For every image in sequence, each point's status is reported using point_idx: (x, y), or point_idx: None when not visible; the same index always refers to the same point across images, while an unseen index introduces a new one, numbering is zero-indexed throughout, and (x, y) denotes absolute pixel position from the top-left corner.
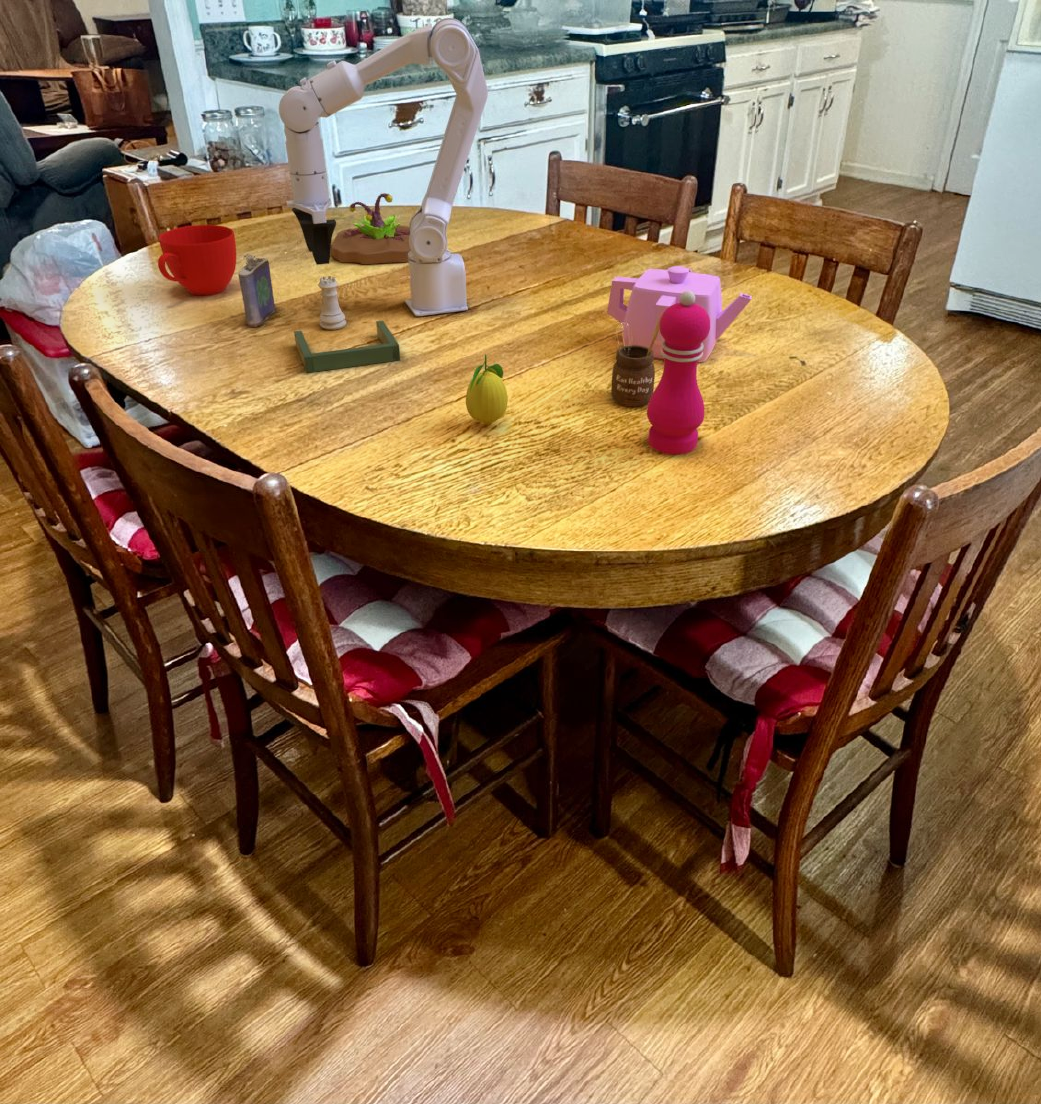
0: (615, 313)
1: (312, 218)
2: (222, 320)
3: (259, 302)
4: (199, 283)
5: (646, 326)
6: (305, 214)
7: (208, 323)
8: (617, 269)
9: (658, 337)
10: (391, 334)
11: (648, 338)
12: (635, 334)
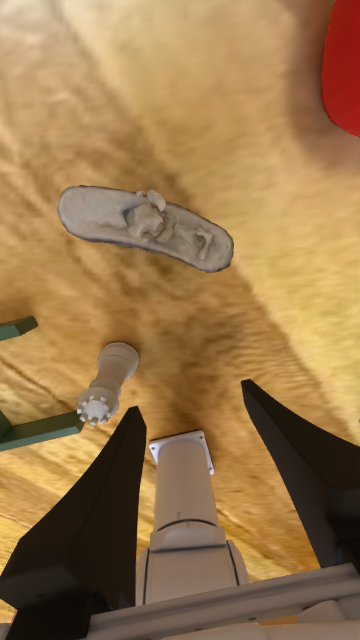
0: None
1: (37, 636)
2: (152, 156)
3: (129, 245)
4: (328, 29)
5: None
6: (313, 500)
7: (135, 122)
8: (260, 560)
9: (12, 619)
10: (27, 444)
11: None
12: None
